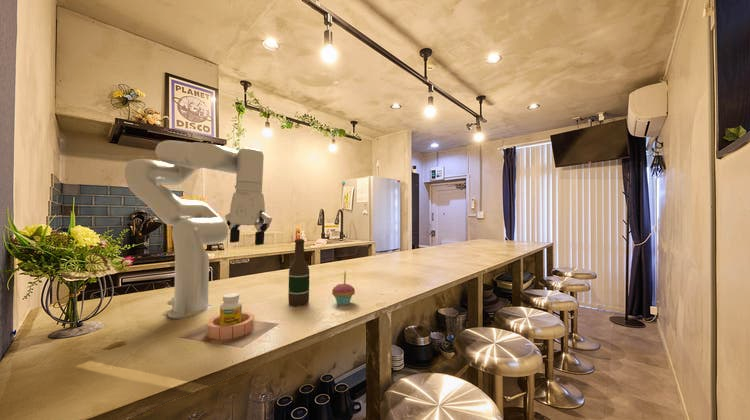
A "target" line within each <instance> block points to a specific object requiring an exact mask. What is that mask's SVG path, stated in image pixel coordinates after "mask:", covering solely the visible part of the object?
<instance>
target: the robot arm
mask: <svg viewBox="0 0 750 420" xmlns="http://www.w3.org/2000/svg"><path fill="white" fill-rule="evenodd" d="M154 151H155V154H156V156H157V158H158V159H159V160H155V159H148V158H137V159H132V160H130V161H128V162H127V163H126V165H125V166H124V173H123V174H124V180H125V183H126V185H127V187H128V188H129V190H130V191H131V192H132V193H133V194H134V195H135V196H136V197H137V198H138V199H139V200H140V201H141V202H143V203H144V204H145V205H146V206H147V207H148V208H149V209H150V210H151V211H152V212H153V213H154V214H155V216H156V217H158V219H159V220H161V222H162V223H164V224H165V225H167V226H170V227H172V228H171V237H172V243H173V248H174V294H173V295H174V297H172V298H171V300H168V301H167V305H168V306H171V309H170V310H169V311H168V312H167V316H168V318H170V319H174V320H181V319H183V318H186V317H188V316H192V315H193V316H194V315H197V314H198V315H199V314H201V313H205V312H208V311H210V310H211V309H212V308H214V305H213V304H211V303H209V286H210V285H209V282H210V281H209V280H210V279H209V277H210V275H209V274H210V272H209V271H210V267H209V266H210V257H209V254H208V252H207V251H206V249H205V247H204V246H207V245H216V244H217V245H218V244H220V243H222V242H224V241H225V240H226V239H227V238H228V236H229V242H230V243H232V244H233V243H239V242H240V232H241V229H239V228H240V227H241V226H254V228H255V230H256V231H255V234H254V240H255V241H254V245H255V246H261V245H264V243H265V232H267V230H268V228H270V225H271V222H272V221H273V218H272V217H271V216H269V214H267V213H266V207H265V206H266V205H265V198H264V193H263V181H264V180H263V175H264V159H265V158H264V157H265V156H264V152H262V151H261V150H259V149H256V148H251V147H250V148H249V147H243V148H239V149H238V150H236V149H233V148H228V147H226V146H222V145H218V144H214V143H206V142H198V141H194V142H190V141H189V142H187V141H182V140H171V139H170V140H169V139H168V140H163V141H161V142H159V143H158V144H157V145H156V146H155V150H154ZM198 169H208V170H213V171H219V172H225V173H228V174H229V173H230V174H234V175H236V179H235V180H236V182H235V185H234V189H235V192H233V194H232V198H231V202H230V208H229V213H227V214H226V215H224V218H225V220H224V219H223V218H222V217H221V216H220V215H219V214H218V213H216V211H215V210H214V209H212V207H210V205H208V204H207V203H205V202H204V201H201V200H193V199H183V198H179V197H178V196H177V195H176V194H175V193H173V191H172V190H171V189H170V188H168V187H167V186H171V187H172V186H178V185H181V184H182V183H184V182H185V181H186V180H187V179H188V178H189V177H191V176H192V175H193V174H194V173H195V172H196V171H198ZM229 231H230V232H229ZM229 233H230V234H229Z"/></svg>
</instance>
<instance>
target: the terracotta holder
mask: <svg viewBox="0 0 750 420" xmlns="http://www.w3.org/2000/svg"><path fill="white" fill-rule="evenodd" d="M254 321H255V315H254V314H253V313H252V312H249V311H248V312H247V311H242V323H238V324H235V325H227V326H220V314H218V315H216V316H213V317H211V318H210V319H209V320H208V321H207V322H206V324H207V336H208V337H209V338H212V339H220V340H221V339H231V338H236V337H239V336H242V335H245V334H247V333H249V332H250V331H252V330H253V328H254Z"/></svg>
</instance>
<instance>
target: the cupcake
mask: <svg viewBox="0 0 750 420" xmlns="http://www.w3.org/2000/svg"><path fill="white" fill-rule="evenodd" d="M343 274H344V275H343V283H339V284H337V285H335V286H334V287H333V288H332V290H331V291H332V292H331V294H332V296H333V297H334V298H335V301H336V304H338V305H339V306H346V305H349V304H350V303H351V299H352V297H353V295H355V294H356V293H355V291H356V290H355V287H353V286H352V285H351V284H348V283H346V281H347V279H346V278H347V271H346V269H345V270H344V273H343Z"/></svg>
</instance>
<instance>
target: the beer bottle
mask: <svg viewBox="0 0 750 420" xmlns="http://www.w3.org/2000/svg"><path fill="white" fill-rule="evenodd" d="M294 242H295V245H294V256H293V261H292V263H291V264H290V266H289V271H288V292H287V294H288V305H289V306H293V307H303V306H306V305H308V304H309V303H310V268H309V265H308V263H307V262H306V258H305V244H304V243H305V239H303V238H295V239H294Z"/></svg>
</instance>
